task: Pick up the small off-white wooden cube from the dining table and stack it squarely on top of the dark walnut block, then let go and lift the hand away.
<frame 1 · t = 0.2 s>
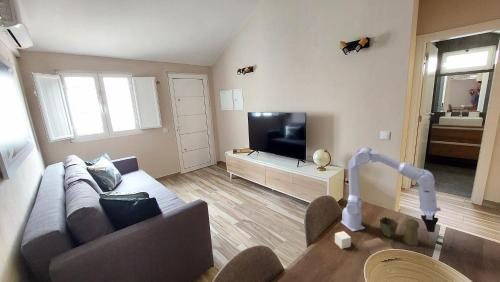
hand: (430, 227, 95), 11 cm above the table, tool pointing down, fingers open, 7 cm apart
offwhite cube: (342, 244, 102), on the table
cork: (410, 241, 101), on the table
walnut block: (378, 251, 97), on the table
cup: (387, 235, 107), on the table
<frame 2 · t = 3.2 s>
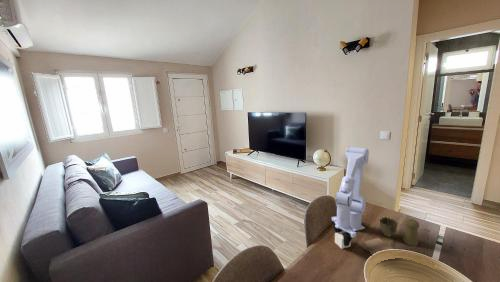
hand: (342, 241, 102), 1 cm above the table, tool pointing down, fingers closed on offwhite cube, 5 cm apart
offwhite cube: (342, 244, 102), on the table, touching gripper
everything else where it was.
when the fingers open (6 cm above the table, at t = 6.6 s): offwhite cube drops 2 cm, resting on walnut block.
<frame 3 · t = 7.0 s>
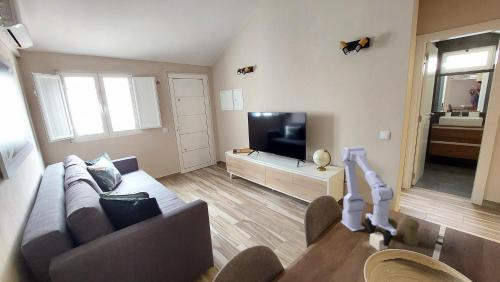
hand: (379, 239, 96), 6 cm above the table, tool pointing down, fingers open, 7 cm apart
offwhite cube: (378, 245, 96), point 3 cm above the table, touching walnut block
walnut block: (378, 251, 97), on the table, touching offwhite cube
everything else where it was.
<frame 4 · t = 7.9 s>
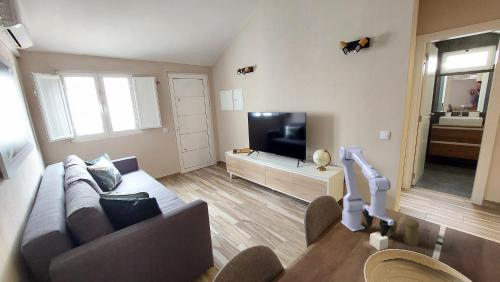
hand: (376, 230, 96), 9 cm above the table, tool pointing down, fingers open, 7 cm apart
nothing on the table moved.
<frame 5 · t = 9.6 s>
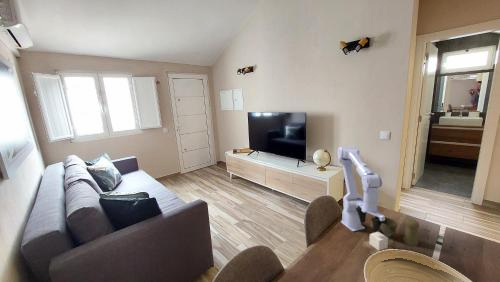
hand: (368, 226, 99), 9 cm above the table, tool pointing down, fingers open, 7 cm apart
nothing on the table moved.
at the end: offwhite cube 0.3 cm off-centre on the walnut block, point 3.0 cm above the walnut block's base; offwhite cube tilted 0°; the gripper is holding nothing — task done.
